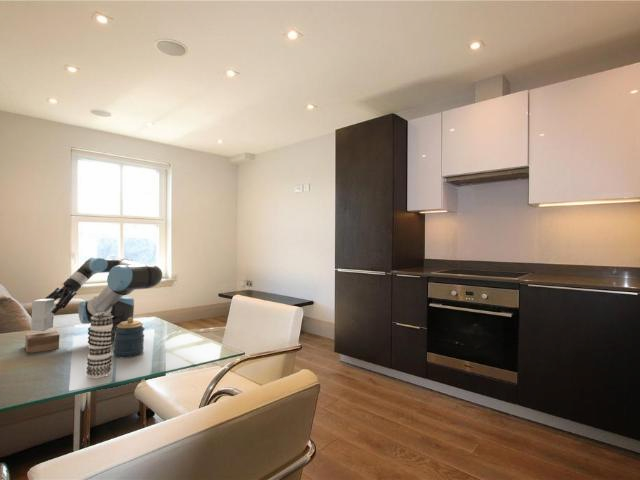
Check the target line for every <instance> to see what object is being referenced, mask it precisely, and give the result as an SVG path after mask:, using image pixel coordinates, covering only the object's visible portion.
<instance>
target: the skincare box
mask: <svg viewBox="0 0 640 480" xmlns="http://www.w3.org/2000/svg"><path fill="white" fill-rule="evenodd" d="M31 304H32V305H31V318H30V319H31V322H30V332H42V331H48V330H50V329H52V328H53V327H54V315H55V314H54V315H53V316H52V317H51V318H50V319H49V320H47V319H46V318H45V317H44V316H45V315H46V314H47V313H48V312H49V311H50V310H51V309H52V308H53V307H54V306H55V301H54V299H45V298H41V299H36V300H32V303H31Z"/></svg>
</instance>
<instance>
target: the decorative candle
mask: <svg viewBox="0 0 640 480" xmlns="http://www.w3.org/2000/svg"><path fill="white" fill-rule="evenodd" d="M113 317H114V316H112V315H111V313H109V312H100V313H96V314H94V315H93V316H92V317H91V323H90V325H89V327H88V328H87V335H88V337H87V343H88V347H87V348H88V349H89V352H88V358H87V360H86V361H87V363H86V365H87V367H86V377H87V378H89V379H98V378H99V379H101V378H104V377H107V376H110V375H111V374H112V372H111V371H112V357H113V356H112V346H113V342H114V341H113V339H111V337H113V336H114V335H113V334H111V333H114V331H113V330H112V327H113V328H114V327H115V326H113V323H112V318H113ZM106 375H107V376H106Z"/></svg>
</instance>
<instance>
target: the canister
mask: <svg viewBox="0 0 640 480" xmlns="http://www.w3.org/2000/svg"><path fill="white" fill-rule="evenodd" d="M117 327H118V328H117V329H115V330H114V332H115V333H116V334H115V337H114V341H113V353H112V354H113V356H114V357H115V358H119V357H123V358H122V359H125V358H127V357H128V358H134V357H137V356H141V355H142V354H143V353H144V350H145V349H144V343H145V342H144V341H145V334H144V331H145V327H144V323H143V322H141V321H140V320H134V317H133V318H128V320H127V321H124V322H121V323H120V324H118V325H117Z"/></svg>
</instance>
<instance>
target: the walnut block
mask: <svg viewBox="0 0 640 480" xmlns="http://www.w3.org/2000/svg"><path fill="white" fill-rule="evenodd" d="M24 342H25V343H24V345H25V346H24V349H25V351H27V352H26V354H29V353H28V352H31V353H37V352H36V351H38V352H45V351H51V350H57V349H60V333H59V332H58V331H57V329H52V330H45V331H32V332H26V333H25V341H24ZM44 350H45V351H44Z"/></svg>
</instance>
